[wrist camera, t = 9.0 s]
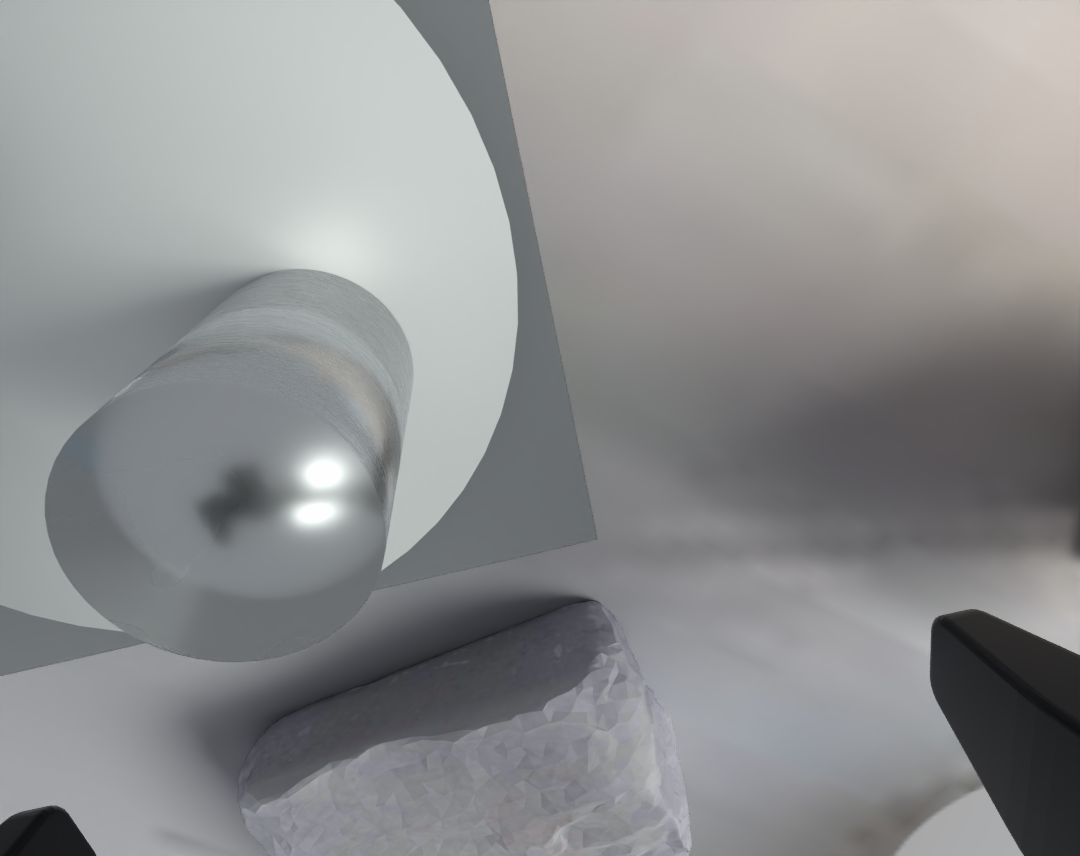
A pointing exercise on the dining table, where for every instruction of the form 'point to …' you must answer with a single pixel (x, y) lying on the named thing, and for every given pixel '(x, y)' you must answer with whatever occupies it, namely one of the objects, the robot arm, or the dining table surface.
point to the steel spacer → (242, 474)
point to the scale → (272, 254)
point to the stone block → (480, 755)
